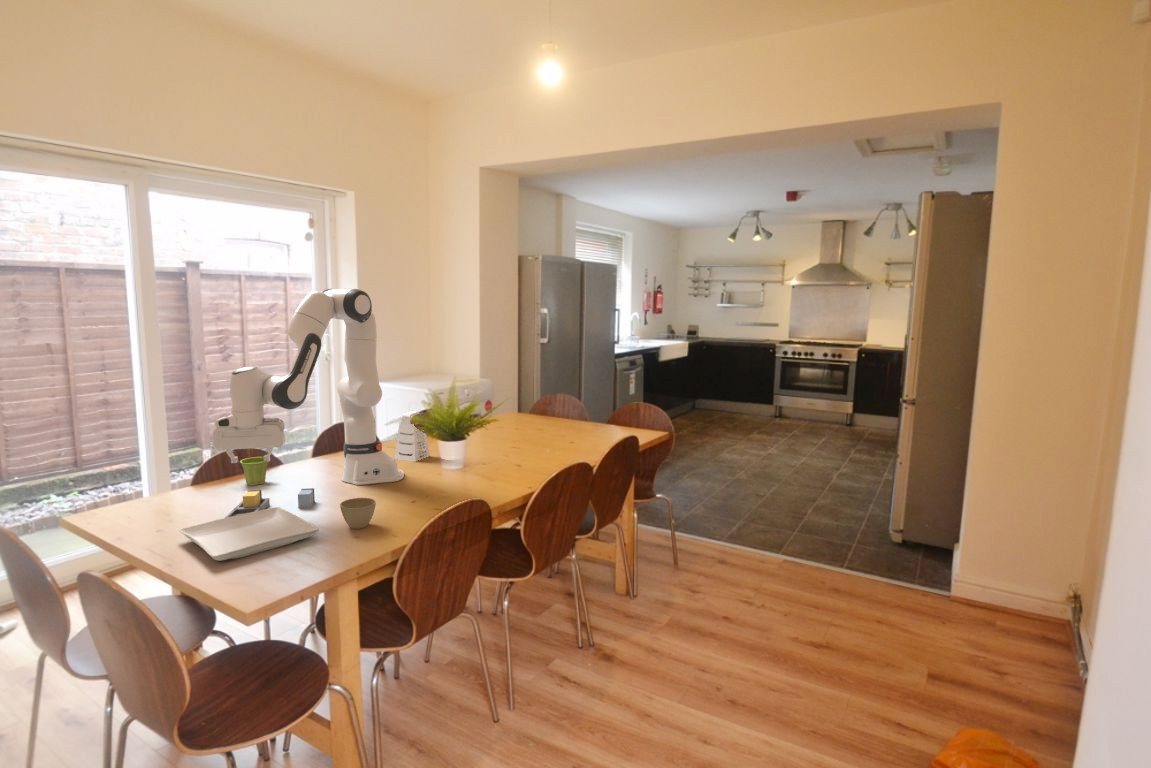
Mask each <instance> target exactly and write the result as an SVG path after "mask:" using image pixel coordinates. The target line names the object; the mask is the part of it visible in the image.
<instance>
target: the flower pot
mask: <svg viewBox="0 0 1151 768" xmlns="http://www.w3.org/2000/svg"><path fill="white" fill-rule="evenodd" d="M376 505H377V501H376V499H373V498H371V497H353V498H348V499H345V500H343V501H341V502H340V503H339V507H340V511H341V514H342V517H343V520H344V521H345V523H346V524H347V526H348V527H349V528H350V529H353V530H354V529H355V530H358V529H363V528H366V527H367V526H368V525H369V524H370V522H371V520H372V518H373V516H374V513H375V509H376Z"/></svg>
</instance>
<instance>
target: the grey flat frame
mask: <svg viewBox="0 0 1151 768" xmlns="http://www.w3.org/2000/svg"><path fill="white" fill-rule="evenodd" d="M269 506H270V498H269V497H268V498H267V497H265V498H263V497H262V504H261V505H260V506H254V507H243V500H241V501H240V502H239V504H237V505H236V506H235V507H234V508H233V509H232V510H231V511H230V512H229V513H227V515H226V516H225V517H224V518H227V517H231V516H236V515H240V514H245V513H250V512H255V511H260V510H265V509H268V508H269Z"/></svg>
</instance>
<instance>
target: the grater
mask: <svg viewBox="0 0 1151 768" xmlns="http://www.w3.org/2000/svg"><path fill="white" fill-rule="evenodd" d="M412 414H413V415H417V414H420V415H421V413H420V411H415V410H414V411H413V410H411V411H408V412H404V413H403V415H402V422H399V423H398V430H397V431H398V432H397V439H396V440H397V441H396V447H395V455H394V459H398V461H403V460H407V461H406V462H411V461H415V462H414V463H416V461H417V462H419V461H421V459H422V460H424V459H423V458H425V459H427V458H429V457H428V456H430V457H431V455H430V449H429V442H428V436H427V433H426V434H425V433H423V432H422V431H420V430H419V429H417V428H416V427H415V426H414V424H411V422H410V420H411V415H412ZM413 415H412V416H413ZM407 454H409V455H407ZM423 455H425V456H423ZM426 457H427V458H426ZM418 460H419V461H418Z"/></svg>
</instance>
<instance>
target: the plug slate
mask: <svg viewBox="0 0 1151 768" xmlns="http://www.w3.org/2000/svg"><path fill="white" fill-rule="evenodd" d="M315 497H316V496H315V488H313V487H311V488H301V489H300V491H299V492H298V494H297V504H298V505H297V507H298V509H305V508H307V509H309V508H311V507H312V506H313V504H314V503H315V501H316V500H315Z"/></svg>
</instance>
